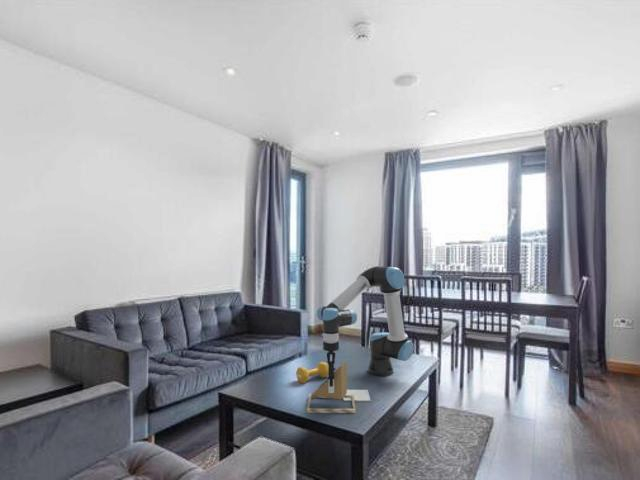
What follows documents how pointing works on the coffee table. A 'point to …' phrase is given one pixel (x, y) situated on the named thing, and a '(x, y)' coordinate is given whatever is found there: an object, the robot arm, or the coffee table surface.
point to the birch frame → (319, 410)
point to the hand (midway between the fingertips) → (331, 388)
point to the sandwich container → (335, 384)
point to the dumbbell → (312, 372)
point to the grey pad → (358, 395)
